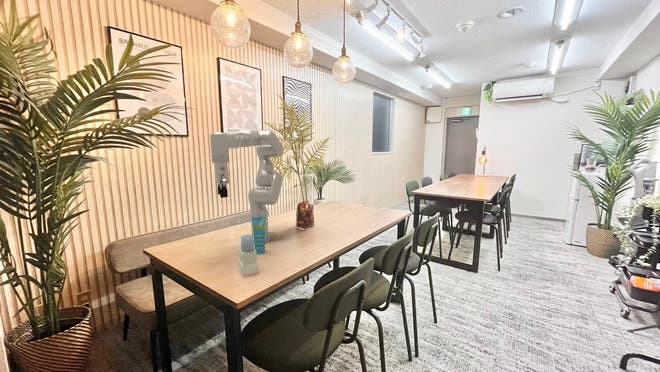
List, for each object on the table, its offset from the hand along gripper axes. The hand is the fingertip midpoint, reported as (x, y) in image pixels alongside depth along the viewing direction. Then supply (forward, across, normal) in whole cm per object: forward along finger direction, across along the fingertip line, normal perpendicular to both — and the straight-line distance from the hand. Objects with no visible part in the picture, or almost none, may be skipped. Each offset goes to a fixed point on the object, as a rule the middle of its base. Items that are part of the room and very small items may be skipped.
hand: (222, 195), depth 128 cm
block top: (+27, -17, -7) cm, 33 cm away
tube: (+32, +3, -17) cm, 37 cm away
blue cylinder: (+22, -17, -7) cm, 29 cm away
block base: (+32, -17, -7) cm, 37 cm away
